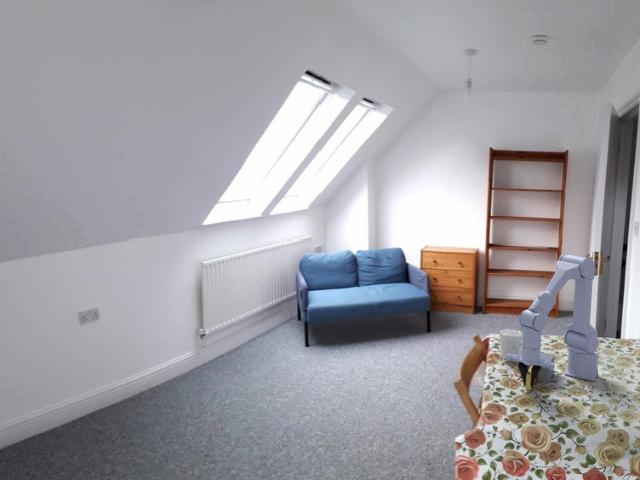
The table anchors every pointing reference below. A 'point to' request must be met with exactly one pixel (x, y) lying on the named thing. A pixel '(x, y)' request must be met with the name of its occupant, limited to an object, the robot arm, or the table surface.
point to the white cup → (510, 342)
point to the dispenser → (544, 373)
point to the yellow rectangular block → (529, 379)
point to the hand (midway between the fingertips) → (528, 385)
